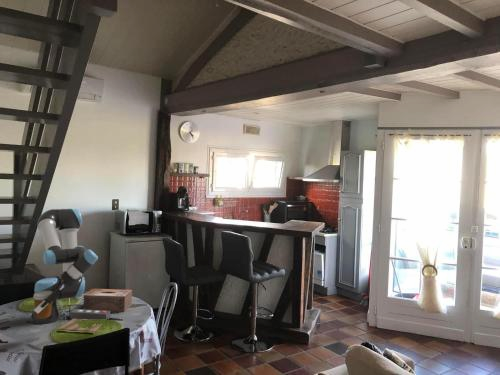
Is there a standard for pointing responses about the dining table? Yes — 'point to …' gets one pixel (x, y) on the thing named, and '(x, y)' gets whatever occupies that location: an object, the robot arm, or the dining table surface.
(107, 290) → the tissue box cover
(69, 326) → the walnut board
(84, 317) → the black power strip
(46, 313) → the disposable coffee cup
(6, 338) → the dining table surface
